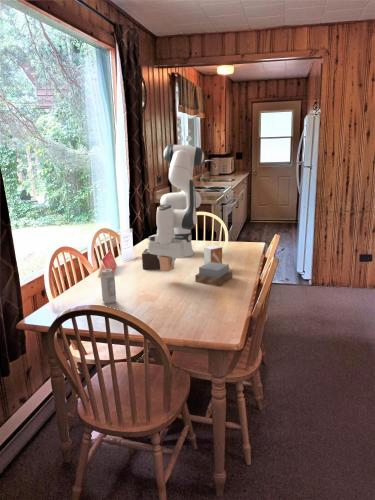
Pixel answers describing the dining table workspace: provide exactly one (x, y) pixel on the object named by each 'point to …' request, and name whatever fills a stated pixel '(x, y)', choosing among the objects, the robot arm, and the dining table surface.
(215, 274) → the grey square slab
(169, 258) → the pillar block
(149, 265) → the pepper mill
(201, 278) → the tower base
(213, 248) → the small box
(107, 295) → the energy drink can
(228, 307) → the dining table surface
